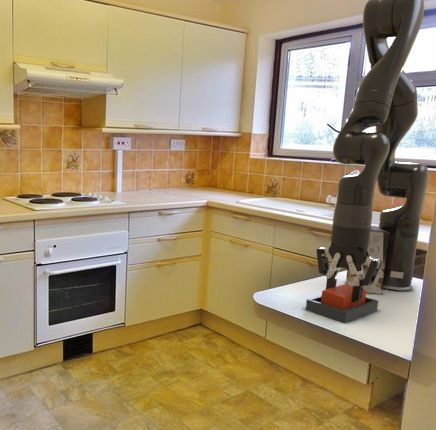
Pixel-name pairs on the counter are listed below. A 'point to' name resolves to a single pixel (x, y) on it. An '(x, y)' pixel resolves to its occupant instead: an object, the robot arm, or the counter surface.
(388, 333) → the counter surface
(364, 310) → the tray
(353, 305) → the orange-red rectangular block
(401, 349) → the counter surface
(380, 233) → the coffee box
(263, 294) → the counter surface
